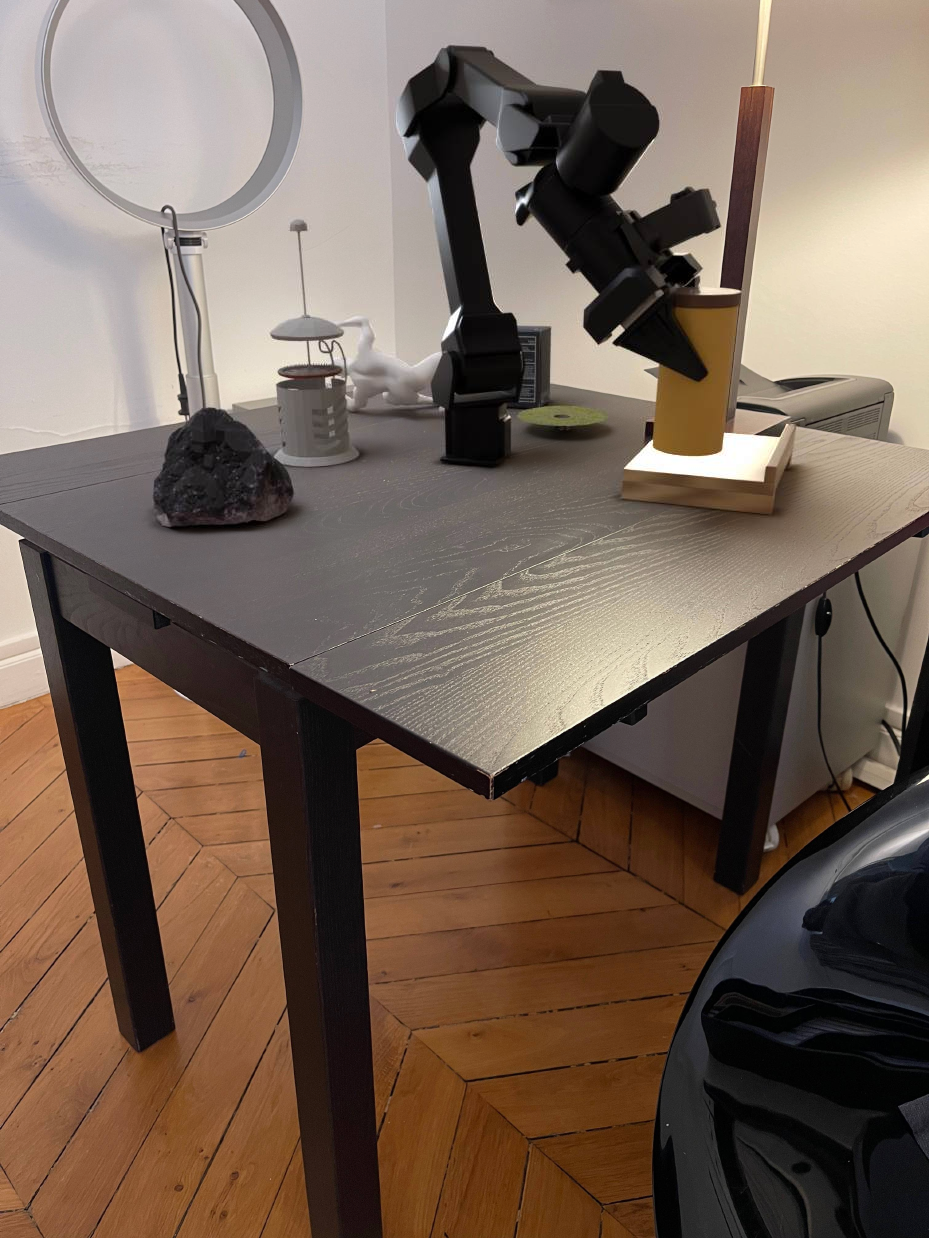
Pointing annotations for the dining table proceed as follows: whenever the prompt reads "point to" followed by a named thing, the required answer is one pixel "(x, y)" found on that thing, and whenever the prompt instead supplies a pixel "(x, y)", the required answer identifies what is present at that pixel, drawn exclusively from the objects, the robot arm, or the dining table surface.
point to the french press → (312, 394)
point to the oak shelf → (714, 474)
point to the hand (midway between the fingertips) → (711, 371)
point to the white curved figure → (383, 372)
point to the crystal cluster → (219, 475)
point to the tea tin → (700, 408)
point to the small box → (535, 366)
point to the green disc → (562, 416)
